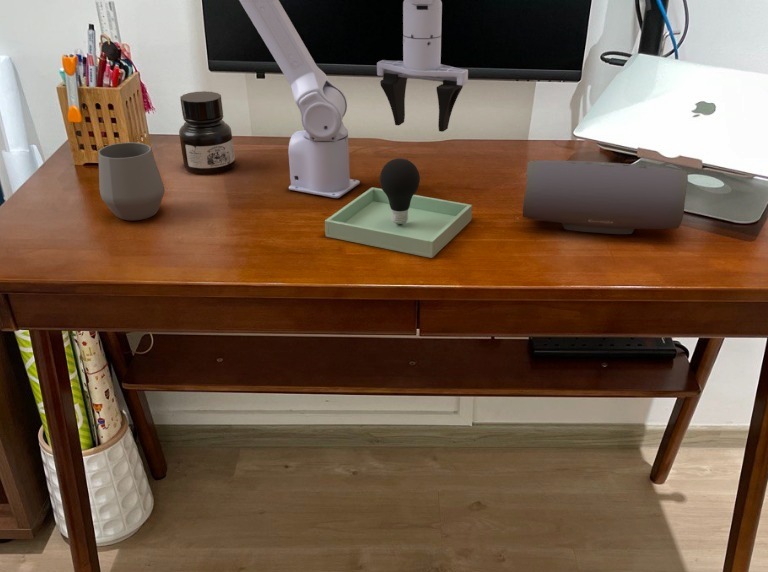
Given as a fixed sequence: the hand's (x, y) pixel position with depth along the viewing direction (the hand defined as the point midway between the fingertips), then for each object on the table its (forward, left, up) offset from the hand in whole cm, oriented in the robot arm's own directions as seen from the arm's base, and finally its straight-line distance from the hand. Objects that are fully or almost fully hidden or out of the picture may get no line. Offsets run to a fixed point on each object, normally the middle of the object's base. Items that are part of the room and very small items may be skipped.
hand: (421, 126), depth 132 cm
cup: (-35, -29, -11) cm, 47 cm away
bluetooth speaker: (+31, -3, -11) cm, 33 cm away
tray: (+4, -16, -10) cm, 20 cm away
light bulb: (+4, -16, -10) cm, 19 cm away
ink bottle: (-38, -6, -11) cm, 40 cm away
